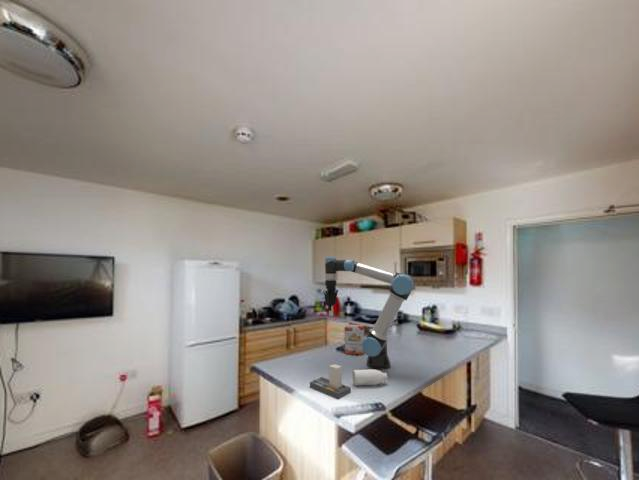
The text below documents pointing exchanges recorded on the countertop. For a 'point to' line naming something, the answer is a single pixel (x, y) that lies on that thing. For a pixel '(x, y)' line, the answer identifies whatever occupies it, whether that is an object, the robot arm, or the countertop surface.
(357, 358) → the countertop surface
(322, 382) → the switch plate
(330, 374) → the switch tab
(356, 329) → the cracker box
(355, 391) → the countertop surface
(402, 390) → the countertop surface
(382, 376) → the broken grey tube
